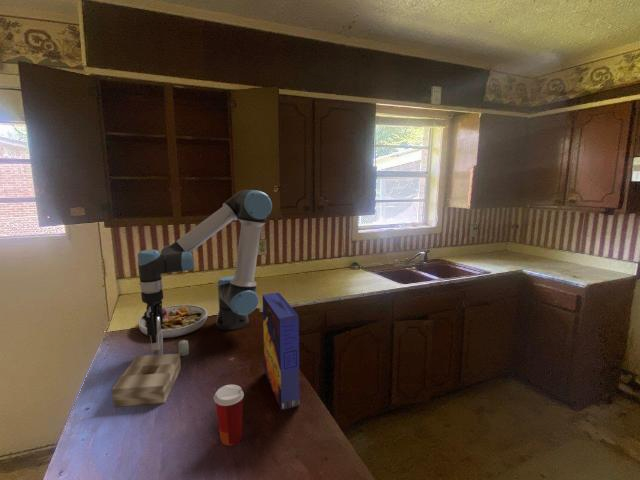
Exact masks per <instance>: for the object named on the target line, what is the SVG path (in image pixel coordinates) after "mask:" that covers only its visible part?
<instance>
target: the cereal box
mask: <svg viewBox="0 0 640 480" xmlns="http://www.w3.org/2000/svg"><path fill="white" fill-rule="evenodd" d="M299 316H300V315H299V314H298V312H296V310H294V308H292V306H291V305H290V304H289V303H288V301H287V300H286V299H285V298H284V297H283V295H282V294H281V293H280V292H270V293H265V294H262V320H263V321H262V323H263V327H262V328H263V353H264V354H263V355H264V356H263V357H264V374H265V376H266V379H267V381H268V383H269V385H270V387H271V390H272V394H273V395H274V397H275V400H276V402H277V405H278V407H279V408H280V411H283V410H287V409H288V410H289V409H291V408H295V407H299V406H300V401H301V400H300V332H299V330H300V328H299V327H300V325H299V324H300V320H299V319H300V317H299Z"/></svg>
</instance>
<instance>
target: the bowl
mask: <svg viewBox="0 0 640 480" xmlns="http://www.w3.org/2000/svg"><path fill="white" fill-rule="evenodd" d="M145 312H147V310H146V311H145ZM162 313H163V325H162V326H164V328H161V329H162V338H163V339H167V338H168V339H169V338H175V337H177V338H178V337H181V336H184V335H188V334H190V333H193V332H195V331H197V330H198V329H200V328H202V327H203V325H204V324H205V323H206V321H207V319H208V311H207V309H206V308H204V307H202V306H199V305H195V304H194V305H193V304H177V305H170V306H169V305H168V306H165V307H163V306H162ZM138 328H139V330H140V332H141V333H143V334H144V335H146V336H148V335H147V326H146V318H145V315H143V316H141V317H140V318H139V320H138Z"/></svg>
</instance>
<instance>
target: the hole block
mask: <svg viewBox="0 0 640 480" xmlns="http://www.w3.org/2000/svg"><path fill="white" fill-rule="evenodd" d="M181 368H182V365H181V356H180V353H179V352H178V353H167V354H166V353H165V354H164V353H163V354H162V355H153V354H150V355H136V356H135V358H134V359H133V360H132V361H131V363H130V364H129V366H128V367H127V368H126V369H125V371H124V372H123V373H122V374H121V376H120V377H119V379H118V380H117V382H116V383H115V384H114V386H113V387H112V388H111V395H112V396H111V397H112V402H113V404H112V405H113V407H114V408H117V407H127V406H129V407H130V406H139V405H140V406H141V405H144V406H145V405H153V404H155V405H156V404H163V403H164V404H165V403H166V400H167V399H168V396H169V395H170V392H171V390H172V389H173V386H174V384H175V383H176V379H177V378H178V375H179V373H180V372H181V370H182V369H181Z"/></svg>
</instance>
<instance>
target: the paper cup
mask: <svg viewBox="0 0 640 480" xmlns="http://www.w3.org/2000/svg"><path fill="white" fill-rule="evenodd" d="M244 393H245V392H244V391H243V388H241V386H239V385H237V384H226V385H223V386H221V387H219V388H218V389H217V390H216V392H215V394H214V396H213V401H214V402H215V408H216V414H217V415H216V416H217V421H218V430H219V438H220V443H221V444H222V445H224V446H226V447H227V446H229V447H230V446H234V445H237V444H238V443H239V442H240V441H241V439H242V438H243V437H242V435H243V412H244V411H243V409H244V407H243V406H244V405H243V404H244V402H243V401H244V396H245V394H244Z"/></svg>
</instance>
